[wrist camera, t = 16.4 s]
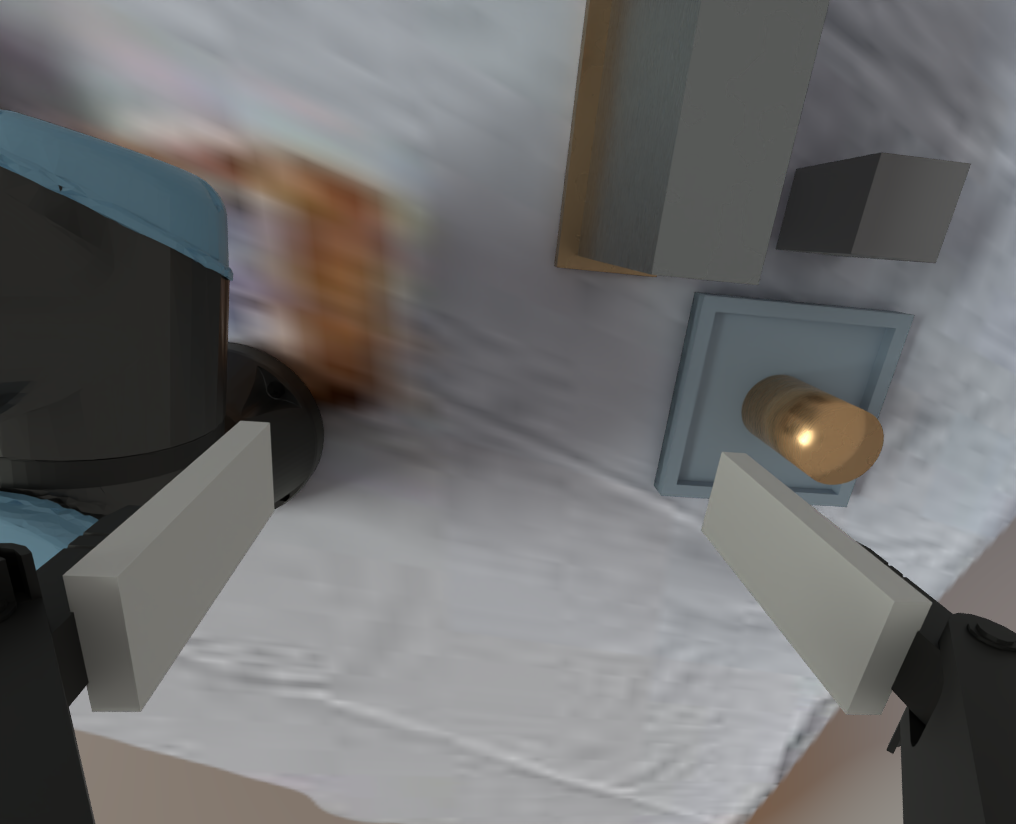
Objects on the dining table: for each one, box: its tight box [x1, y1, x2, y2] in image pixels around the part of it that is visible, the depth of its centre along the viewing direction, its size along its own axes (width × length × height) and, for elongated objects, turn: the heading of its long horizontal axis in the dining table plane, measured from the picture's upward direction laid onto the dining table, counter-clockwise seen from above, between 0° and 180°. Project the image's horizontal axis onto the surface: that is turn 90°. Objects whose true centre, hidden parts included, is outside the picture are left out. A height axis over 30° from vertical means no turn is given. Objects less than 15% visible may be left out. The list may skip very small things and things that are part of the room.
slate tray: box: [654, 292, 914, 507], centre depth 46 cm, size 18×18×2 cm
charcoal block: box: [776, 153, 971, 263], centre depth 37 cm, size 6×6×9 cm
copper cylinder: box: [741, 375, 884, 485], centre depth 41 cm, size 6×6×9 cm
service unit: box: [554, 0, 830, 285], centre depth 29 cm, size 24×8×20 cm, turn 174°
